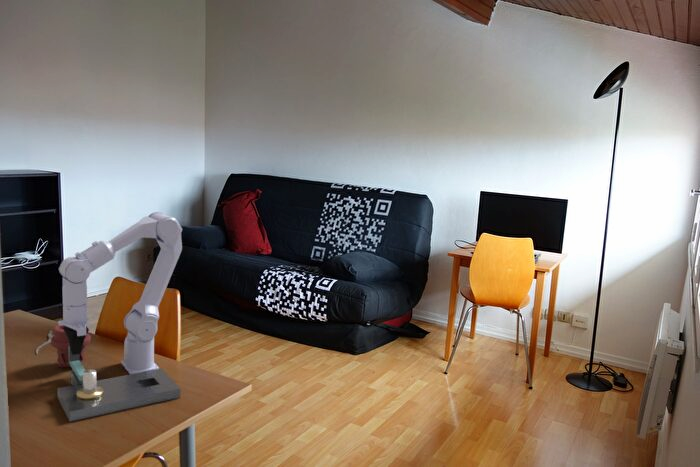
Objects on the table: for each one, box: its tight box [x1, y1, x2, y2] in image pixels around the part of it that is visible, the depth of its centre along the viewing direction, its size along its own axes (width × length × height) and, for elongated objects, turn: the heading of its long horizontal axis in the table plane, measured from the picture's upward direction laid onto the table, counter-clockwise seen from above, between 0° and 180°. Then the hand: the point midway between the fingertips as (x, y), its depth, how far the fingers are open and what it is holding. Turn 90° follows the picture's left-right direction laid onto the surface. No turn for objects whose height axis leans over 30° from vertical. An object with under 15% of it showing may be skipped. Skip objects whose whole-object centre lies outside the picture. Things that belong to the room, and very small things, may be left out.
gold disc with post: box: [77, 369, 103, 400], centre depth 144 cm, size 6×6×8 cm
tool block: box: [56, 368, 181, 423], centre depth 152 cm, size 21×26×3 cm
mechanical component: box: [50, 324, 92, 368], centre depth 165 cm, size 12×10×10 cm
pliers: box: [35, 329, 54, 356], centre depth 181 cm, size 10×1×20 cm
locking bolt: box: [68, 346, 86, 381], centre depth 154 cm, size 12×2×5 cm, turn 36°
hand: (76, 353), depth 155 cm, fingers closed
